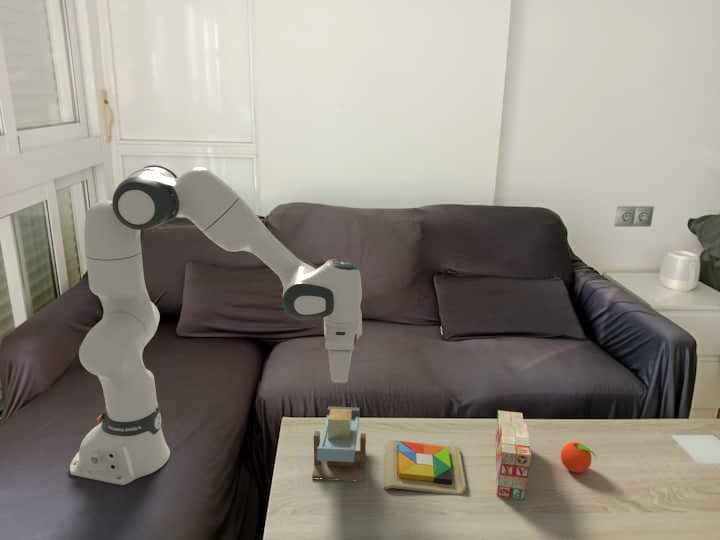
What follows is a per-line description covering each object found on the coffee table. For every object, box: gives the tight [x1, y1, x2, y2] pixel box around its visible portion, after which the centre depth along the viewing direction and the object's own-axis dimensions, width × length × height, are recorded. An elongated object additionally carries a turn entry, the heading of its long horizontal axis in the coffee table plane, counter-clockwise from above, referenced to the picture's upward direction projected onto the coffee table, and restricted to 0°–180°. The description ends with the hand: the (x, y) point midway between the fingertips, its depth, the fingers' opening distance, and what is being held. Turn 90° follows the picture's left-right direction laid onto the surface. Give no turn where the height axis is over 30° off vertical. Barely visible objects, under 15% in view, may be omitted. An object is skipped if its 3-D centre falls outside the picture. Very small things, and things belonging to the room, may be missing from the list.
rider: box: [328, 409, 352, 441], centre depth 133 cm, size 6×5×5 cm
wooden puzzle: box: [382, 439, 467, 496], centre depth 137 cm, size 18×19×4 cm
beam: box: [317, 405, 360, 462], centre depth 134 cm, size 22×8×3 cm, turn 177°
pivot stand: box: [311, 430, 367, 482], centre depth 136 cm, size 10×12×9 cm
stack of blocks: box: [495, 410, 532, 501], centre depth 135 cm, size 21×6×12 cm, turn 169°
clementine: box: [560, 441, 597, 473], centre depth 136 cm, size 8×7×7 cm
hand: (343, 379), depth 137 cm, fingers closed
